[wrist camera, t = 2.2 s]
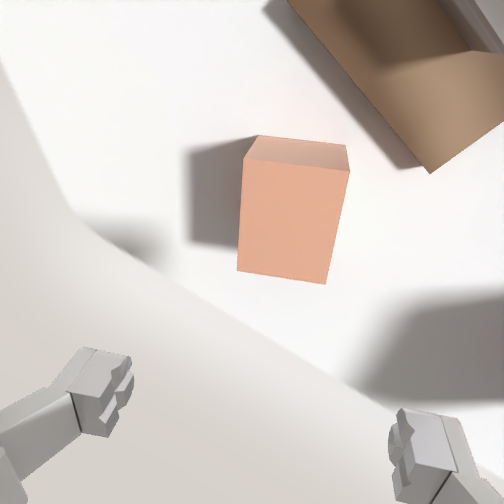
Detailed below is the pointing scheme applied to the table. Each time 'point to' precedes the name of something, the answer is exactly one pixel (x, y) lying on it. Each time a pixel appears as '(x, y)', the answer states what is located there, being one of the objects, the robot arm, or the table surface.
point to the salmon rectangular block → (291, 207)
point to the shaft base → (420, 65)
